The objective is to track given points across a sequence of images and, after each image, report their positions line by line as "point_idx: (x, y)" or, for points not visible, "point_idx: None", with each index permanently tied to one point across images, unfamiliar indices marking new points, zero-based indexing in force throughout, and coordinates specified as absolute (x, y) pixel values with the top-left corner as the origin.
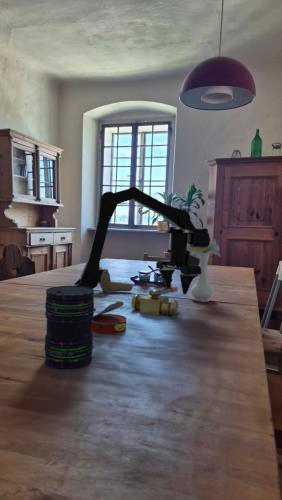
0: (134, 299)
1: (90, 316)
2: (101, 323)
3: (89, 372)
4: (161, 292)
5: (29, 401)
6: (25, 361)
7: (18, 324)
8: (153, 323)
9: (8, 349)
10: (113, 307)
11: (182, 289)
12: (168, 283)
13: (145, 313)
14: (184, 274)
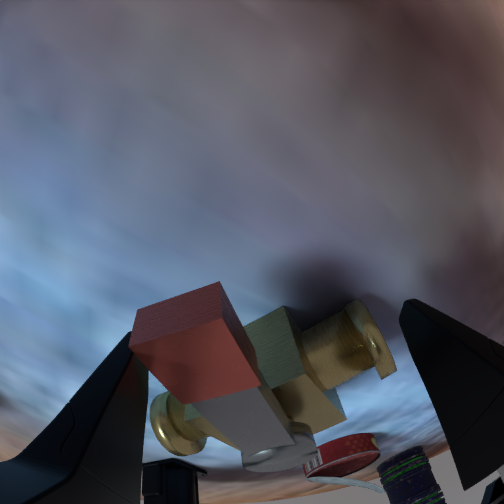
0: (204, 446)
1: (439, 486)
2: (360, 469)
3: (432, 442)
4: (292, 430)
5: (428, 456)
6: (371, 476)
7: (240, 500)
8: (377, 390)
9: (332, 489)
10: (366, 485)
11: (418, 362)
12: (138, 401)
13: None
14: (499, 467)
